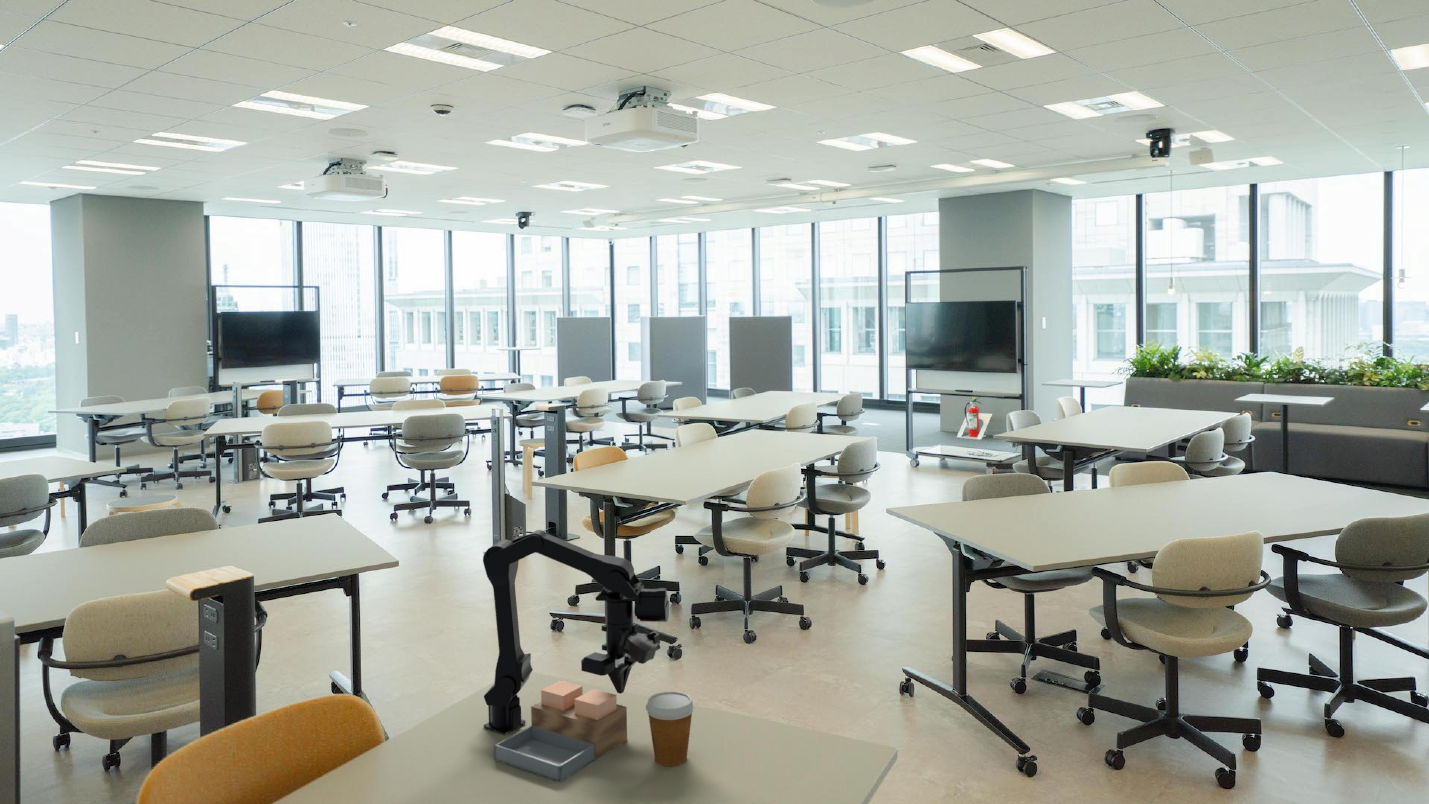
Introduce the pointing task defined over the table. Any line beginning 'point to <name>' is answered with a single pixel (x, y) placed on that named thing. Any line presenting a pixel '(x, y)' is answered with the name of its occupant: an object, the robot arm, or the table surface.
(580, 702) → the tile
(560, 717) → the brown wooden block
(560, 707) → the tile
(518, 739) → the tray
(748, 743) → the table surface
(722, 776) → the table surface
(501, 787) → the table surface
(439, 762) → the table surface
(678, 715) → the disposable coffee cup
